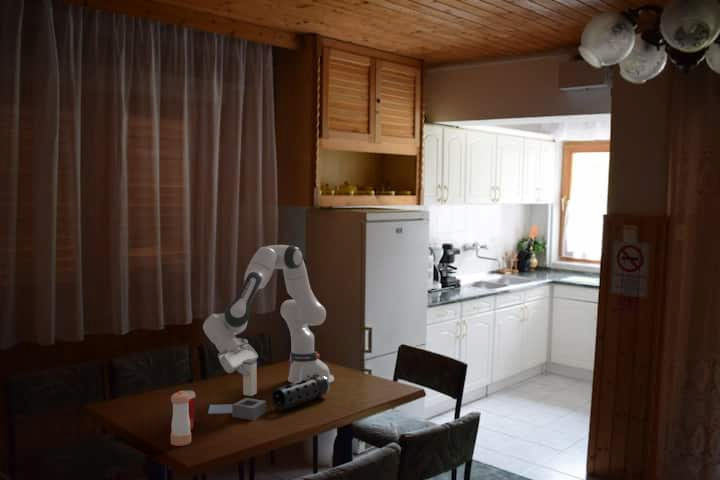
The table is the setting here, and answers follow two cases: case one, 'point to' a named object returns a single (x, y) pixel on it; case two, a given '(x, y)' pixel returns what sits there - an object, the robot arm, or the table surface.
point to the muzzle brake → (300, 392)
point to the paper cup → (191, 407)
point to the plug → (250, 377)
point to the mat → (220, 409)
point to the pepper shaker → (180, 419)
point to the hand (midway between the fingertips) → (251, 374)
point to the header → (249, 409)
